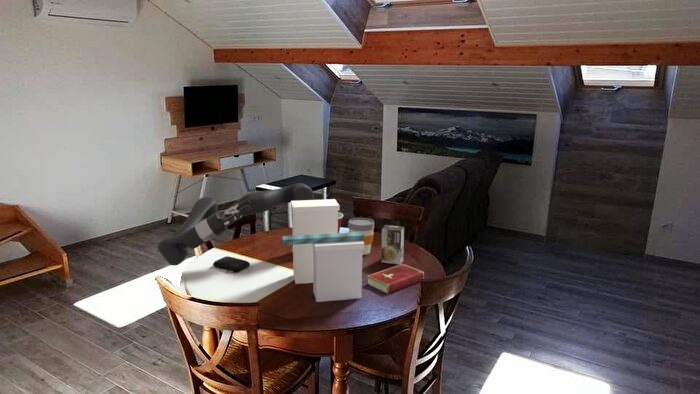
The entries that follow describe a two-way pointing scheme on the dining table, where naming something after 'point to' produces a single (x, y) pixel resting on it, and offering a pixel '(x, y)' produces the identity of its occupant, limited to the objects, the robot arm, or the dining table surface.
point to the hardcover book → (395, 278)
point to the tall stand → (311, 232)
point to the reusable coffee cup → (366, 228)
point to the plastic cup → (339, 220)
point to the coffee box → (392, 244)
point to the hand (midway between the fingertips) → (249, 204)
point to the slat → (323, 238)
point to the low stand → (337, 270)
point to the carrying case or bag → (231, 264)
